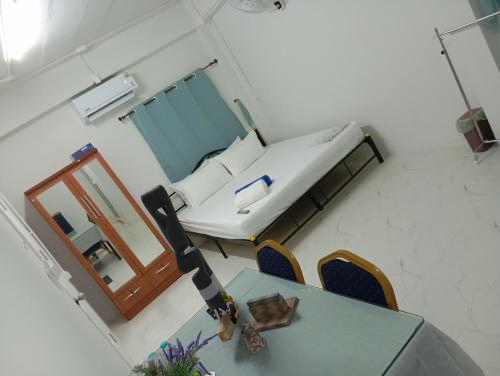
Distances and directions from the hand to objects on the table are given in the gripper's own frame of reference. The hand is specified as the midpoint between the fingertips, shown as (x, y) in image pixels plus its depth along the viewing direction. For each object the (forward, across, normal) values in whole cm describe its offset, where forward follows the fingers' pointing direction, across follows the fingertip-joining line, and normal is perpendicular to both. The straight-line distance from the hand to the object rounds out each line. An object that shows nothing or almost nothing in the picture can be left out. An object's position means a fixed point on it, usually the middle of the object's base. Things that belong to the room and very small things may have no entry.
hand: (230, 323), depth 191 cm
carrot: (+7, +6, -13) cm, 15 cm away
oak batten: (+1, 0, 0) cm, 1 cm away
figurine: (+6, -14, +10) cm, 18 cm away
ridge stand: (+6, -16, -8) cm, 18 cm away
